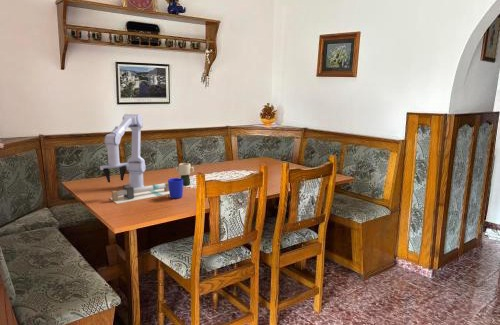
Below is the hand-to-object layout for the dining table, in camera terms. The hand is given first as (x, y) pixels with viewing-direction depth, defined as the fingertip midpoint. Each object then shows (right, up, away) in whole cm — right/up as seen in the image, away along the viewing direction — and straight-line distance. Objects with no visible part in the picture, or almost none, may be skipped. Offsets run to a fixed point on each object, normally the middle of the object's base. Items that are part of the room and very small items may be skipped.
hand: (115, 181), depth 216 cm
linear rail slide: (+12, -9, +7) cm, 17 cm away
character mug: (+33, -4, +31) cm, 45 cm away
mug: (+32, -9, +6) cm, 34 cm away
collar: (+6, -10, +2) cm, 12 cm away
